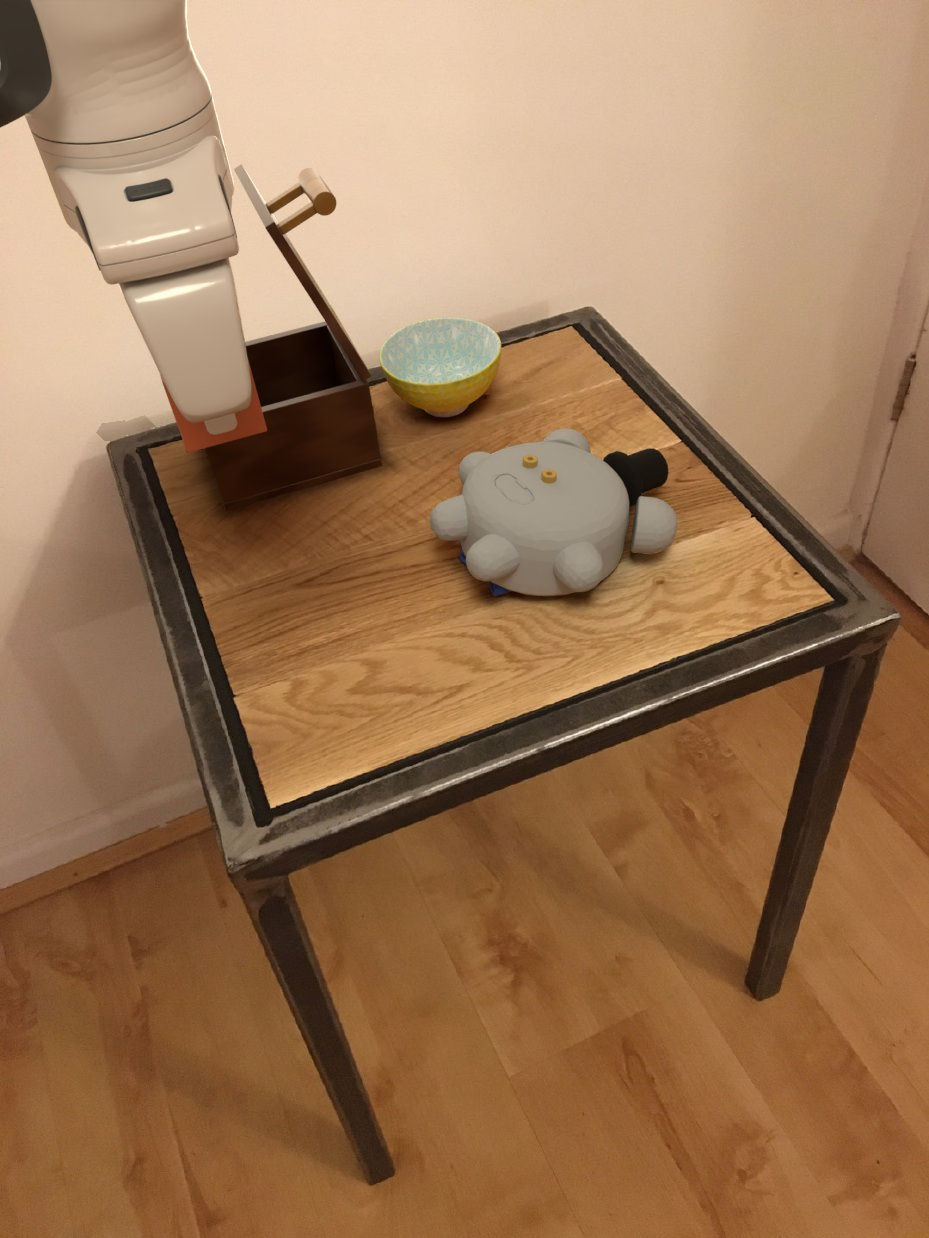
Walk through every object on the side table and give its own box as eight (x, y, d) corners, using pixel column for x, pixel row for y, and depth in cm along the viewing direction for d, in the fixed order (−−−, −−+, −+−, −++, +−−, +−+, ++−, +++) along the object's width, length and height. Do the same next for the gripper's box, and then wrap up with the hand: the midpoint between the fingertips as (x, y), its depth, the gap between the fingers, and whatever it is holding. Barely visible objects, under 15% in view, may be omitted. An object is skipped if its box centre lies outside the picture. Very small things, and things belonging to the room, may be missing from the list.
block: (187, 453, 58) (162, 382, 54) (174, 409, 61) (150, 340, 58) (267, 431, 59) (248, 360, 55) (251, 389, 62) (232, 319, 58)
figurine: (511, 658, 70) (716, 568, 78) (518, 571, 64) (739, 482, 72) (397, 529, 81) (588, 461, 88) (394, 444, 75) (599, 379, 82)
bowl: (364, 403, 94) (354, 347, 90) (457, 358, 98) (452, 303, 94) (432, 456, 88) (425, 399, 83) (528, 405, 92) (526, 348, 87)
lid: (265, 228, 69) (330, 185, 69) (233, 169, 76) (291, 130, 76) (364, 381, 81) (420, 345, 80) (327, 317, 88) (379, 284, 88)
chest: (225, 511, 84) (198, 429, 78) (202, 439, 92) (175, 359, 86) (382, 465, 87) (368, 383, 81) (347, 399, 95) (332, 319, 88)
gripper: (62, 114, 55) (140, 331, 65) (97, 269, 41) (188, 511, 52) (172, 92, 56) (231, 308, 66) (239, 236, 43) (301, 479, 53)
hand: (212, 398), depth 59 cm, fingers closed on block, 5 cm apart
